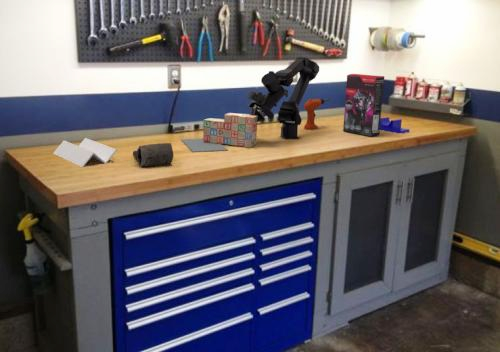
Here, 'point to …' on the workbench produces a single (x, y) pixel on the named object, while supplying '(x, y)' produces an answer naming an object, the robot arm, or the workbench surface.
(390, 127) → the mounting bracket
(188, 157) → the workbench surface
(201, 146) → the mat
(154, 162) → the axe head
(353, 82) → the graphics card box
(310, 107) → the toy drill
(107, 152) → the z bracket
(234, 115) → the stack of blocks
